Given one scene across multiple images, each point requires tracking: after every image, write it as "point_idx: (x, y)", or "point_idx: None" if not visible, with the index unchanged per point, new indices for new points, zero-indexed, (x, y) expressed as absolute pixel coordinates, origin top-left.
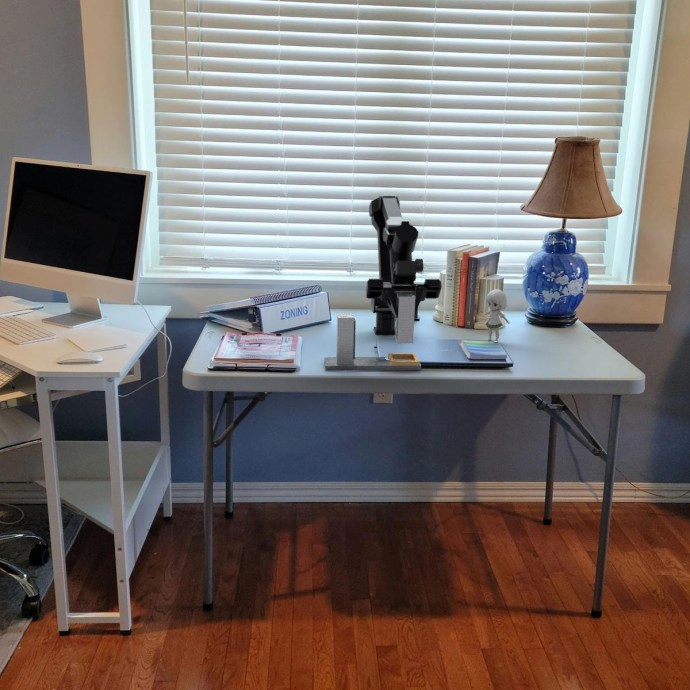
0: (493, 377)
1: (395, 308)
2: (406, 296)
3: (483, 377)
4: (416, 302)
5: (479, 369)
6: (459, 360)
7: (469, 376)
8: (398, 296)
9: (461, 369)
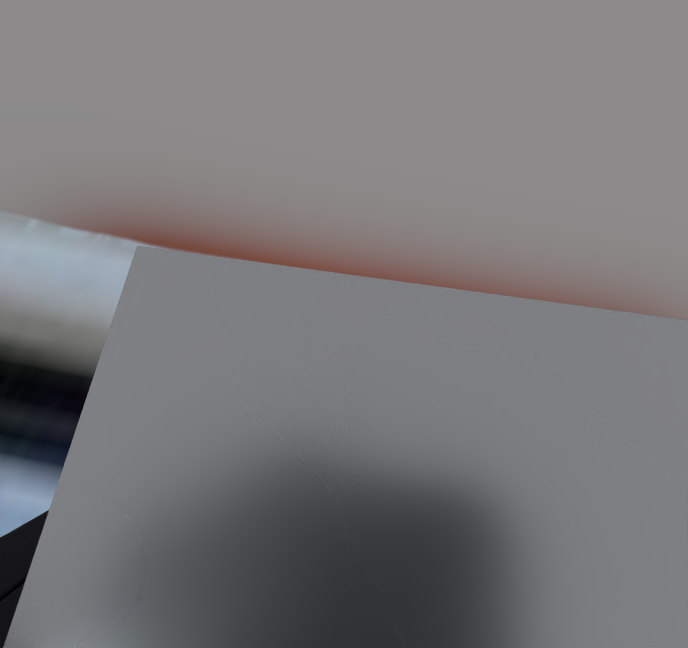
0: (19, 232)
1: None
2: (413, 311)
3: (60, 238)
4: None
5: (10, 346)
6: (20, 517)
7: (112, 260)
8: (678, 509)
9: (94, 362)
